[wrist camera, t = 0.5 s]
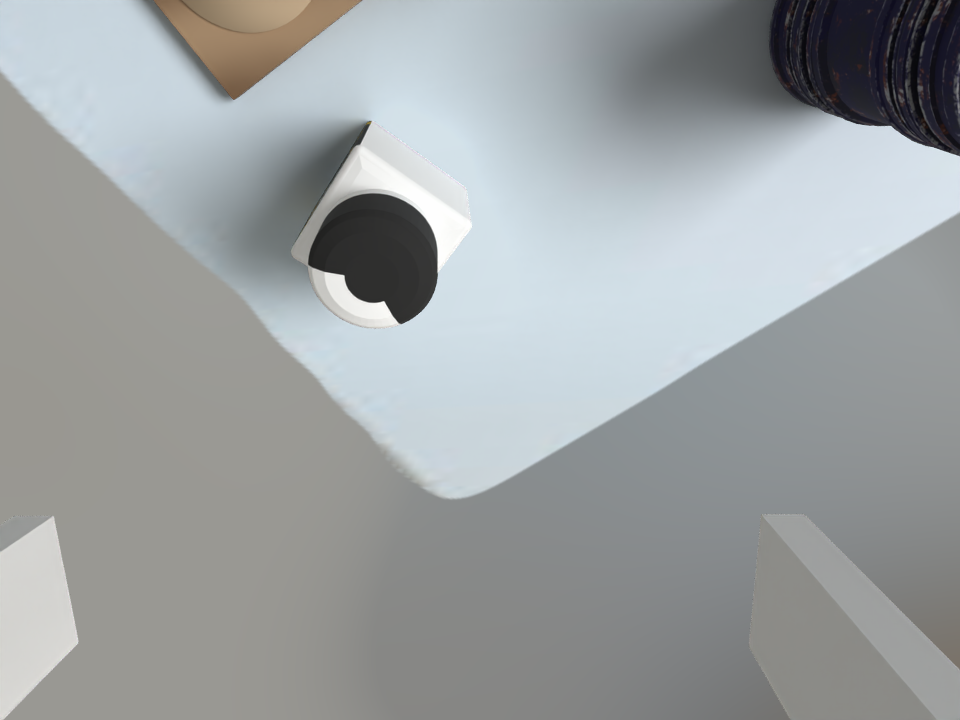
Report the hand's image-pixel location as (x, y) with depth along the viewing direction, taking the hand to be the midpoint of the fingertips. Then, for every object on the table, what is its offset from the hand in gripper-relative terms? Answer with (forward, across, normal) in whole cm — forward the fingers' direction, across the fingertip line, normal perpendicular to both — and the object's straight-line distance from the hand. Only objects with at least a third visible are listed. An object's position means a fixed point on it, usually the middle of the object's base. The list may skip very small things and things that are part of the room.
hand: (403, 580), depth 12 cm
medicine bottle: (+30, -5, +8) cm, 31 cm away
